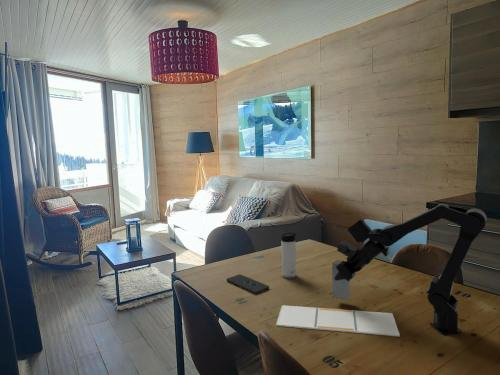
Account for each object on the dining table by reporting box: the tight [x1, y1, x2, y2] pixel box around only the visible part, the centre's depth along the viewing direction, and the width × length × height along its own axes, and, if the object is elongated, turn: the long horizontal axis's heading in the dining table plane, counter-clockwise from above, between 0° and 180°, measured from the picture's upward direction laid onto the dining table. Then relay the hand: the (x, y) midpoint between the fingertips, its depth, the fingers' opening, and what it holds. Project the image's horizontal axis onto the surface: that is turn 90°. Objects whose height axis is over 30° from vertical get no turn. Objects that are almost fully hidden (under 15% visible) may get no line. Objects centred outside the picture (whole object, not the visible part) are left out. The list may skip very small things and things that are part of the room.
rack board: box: [275, 305, 401, 337], centre depth 117 cm, size 38×14×1 cm, turn 77°
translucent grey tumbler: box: [331, 259, 351, 301], centre depth 128 cm, size 5×4×13 cm
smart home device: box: [226, 273, 270, 295], centre depth 149 cm, size 8×2×20 cm
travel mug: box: [280, 232, 297, 279], centre depth 156 cm, size 6×7×20 cm
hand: (337, 277), depth 129 cm, fingers closed on translucent grey tumbler, 4 cm apart
